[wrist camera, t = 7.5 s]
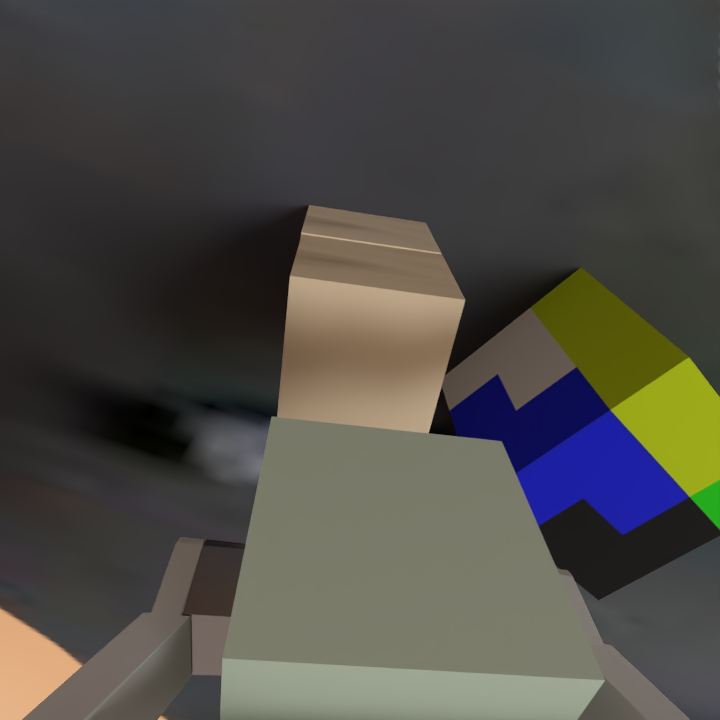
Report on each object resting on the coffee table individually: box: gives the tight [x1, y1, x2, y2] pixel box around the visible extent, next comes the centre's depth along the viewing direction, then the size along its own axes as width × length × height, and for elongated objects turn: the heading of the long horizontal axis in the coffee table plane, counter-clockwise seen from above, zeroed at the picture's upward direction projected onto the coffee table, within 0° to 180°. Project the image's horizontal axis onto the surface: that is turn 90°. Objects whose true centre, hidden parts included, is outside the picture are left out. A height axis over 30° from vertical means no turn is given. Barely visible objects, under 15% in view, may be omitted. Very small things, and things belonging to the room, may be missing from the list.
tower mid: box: [277, 234, 465, 433], centre depth 21 cm, size 6×6×5 cm
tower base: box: [301, 205, 441, 254], centre depth 25 cm, size 6×6×5 cm
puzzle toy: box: [442, 268, 720, 600], centre depth 27 cm, size 10×10×10 cm
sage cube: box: [220, 417, 605, 720], centre depth 10 cm, size 5×5×5 cm
